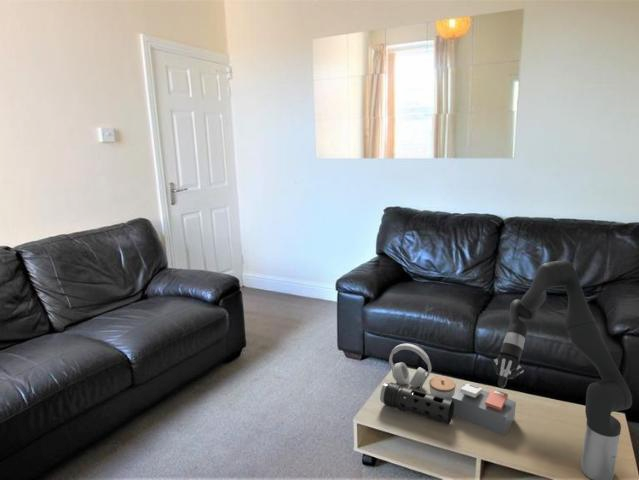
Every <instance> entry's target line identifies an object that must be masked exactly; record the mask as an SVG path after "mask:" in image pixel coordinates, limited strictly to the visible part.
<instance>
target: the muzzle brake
mask: <svg viewBox="0 0 639 480" xmlns="http://www.w3.org/2000/svg"><path fill="white" fill-rule="evenodd" d="M379 395H380V396H379V397H380V398H379V399H380V402H381V403H383V404H384V405H385V406H386V407H389V408H392V409H397V410H399V411H400V412H401V411H402V412H407V413H410V414H413V415H416V416H420V417H422V418H423V417H424V418H426V419H429V420H432V421H435V422H438V423H441V424H444V425H450V424H451V422H452V420H453V417H454V416H453V411H454V402H453V401H452V399H451V400H448V399H445V398H441V397H438V396H434V395H431V393H426V392H423V391H419V390H416V389H412V388H409V387H406V386H401V384H399V383H396V382H395V383H394V382H385V383H384V384H382V387H381V389H380V394H379Z"/></svg>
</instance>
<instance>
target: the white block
mask: <svg viewBox="0 0 639 480" xmlns="http://www.w3.org/2000/svg"><path fill="white" fill-rule="evenodd" d="M482 390H483V388H482V387H480V386H477V385H473V384H472V383H465V386H464V387H462V388H461V390H460V393H463V394H466V395H469V396H472V397H474V398H475V397H477V396H478V395H479V394H480V393H482Z"/></svg>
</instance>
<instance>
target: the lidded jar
mask: <svg viewBox="0 0 639 480" xmlns="http://www.w3.org/2000/svg"><path fill="white" fill-rule="evenodd" d="M456 385H457V384H456V382H455V381H454V380H453V379H452V378H450V377H448V376H444V375H441V376H440V375H438V376H433V377H432V378H430V380H429V392H430V393H429V394H431V395H434V396H438V397H441V398H445V399H448V400H452V396H453V395H454V394H455V393H456Z"/></svg>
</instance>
